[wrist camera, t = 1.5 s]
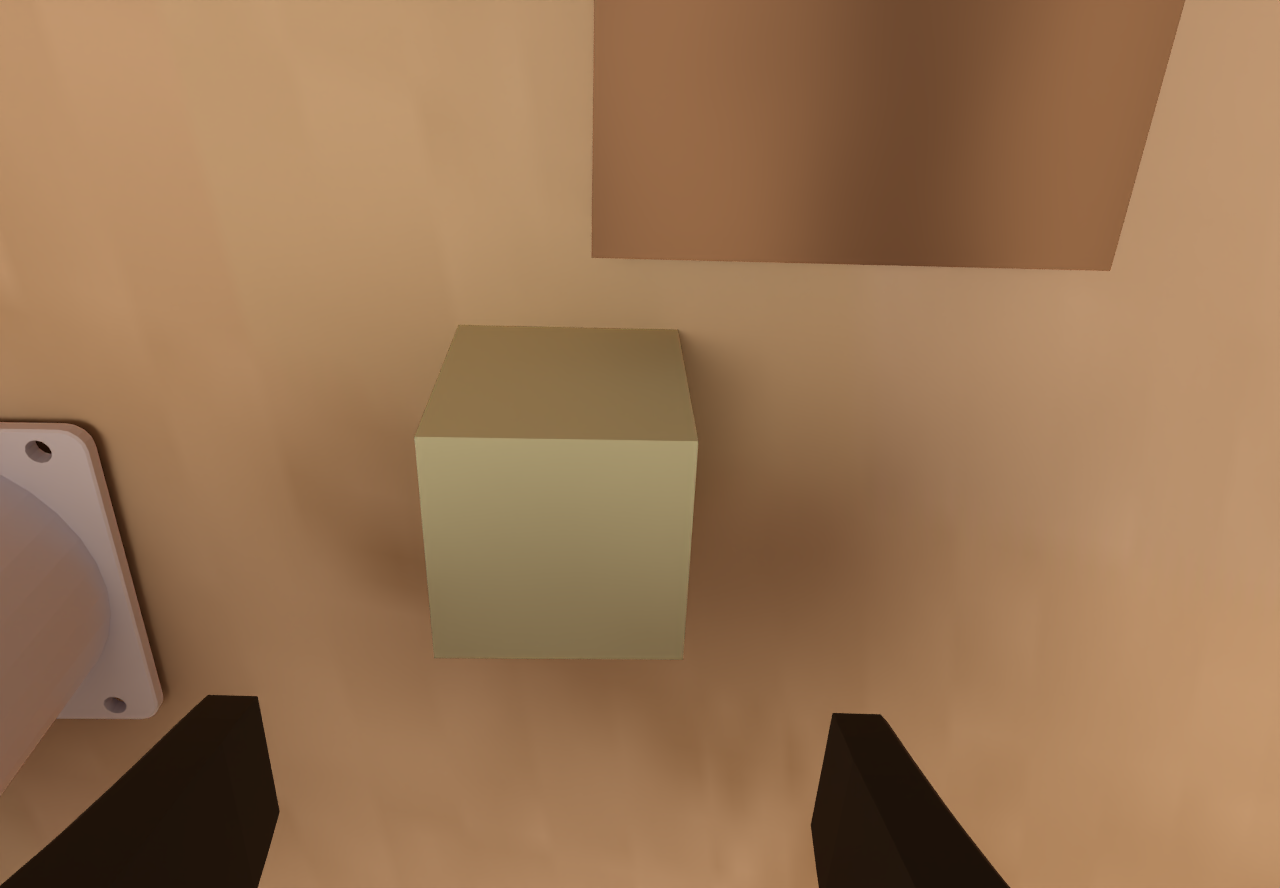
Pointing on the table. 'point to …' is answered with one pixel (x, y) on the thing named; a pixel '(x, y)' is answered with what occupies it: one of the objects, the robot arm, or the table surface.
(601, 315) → the table surface
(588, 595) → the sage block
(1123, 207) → the walnut box
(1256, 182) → the table surface
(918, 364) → the table surface
